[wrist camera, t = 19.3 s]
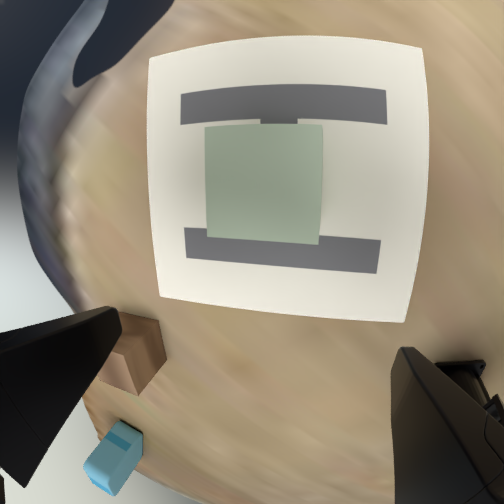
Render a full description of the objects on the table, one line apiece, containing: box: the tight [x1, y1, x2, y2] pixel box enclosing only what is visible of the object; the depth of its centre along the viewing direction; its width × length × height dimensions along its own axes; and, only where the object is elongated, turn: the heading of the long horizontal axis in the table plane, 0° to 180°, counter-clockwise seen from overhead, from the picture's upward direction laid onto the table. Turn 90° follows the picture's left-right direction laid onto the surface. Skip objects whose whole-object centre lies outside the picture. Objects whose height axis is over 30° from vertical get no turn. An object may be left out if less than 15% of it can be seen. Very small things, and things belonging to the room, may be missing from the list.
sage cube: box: [205, 124, 323, 245], centre depth 15 cm, size 6×6×6 cm
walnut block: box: [97, 312, 167, 396], centre depth 24 cm, size 5×5×6 cm
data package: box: [83, 421, 143, 496], centre depth 32 cm, size 12×4×12 cm, turn 163°
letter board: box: [147, 36, 429, 322], centre depth 18 cm, size 20×20×1 cm
